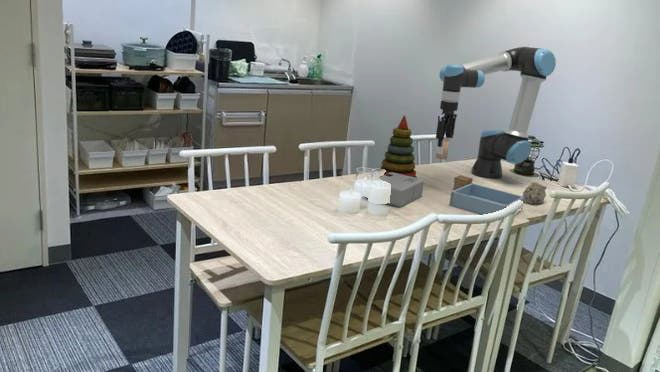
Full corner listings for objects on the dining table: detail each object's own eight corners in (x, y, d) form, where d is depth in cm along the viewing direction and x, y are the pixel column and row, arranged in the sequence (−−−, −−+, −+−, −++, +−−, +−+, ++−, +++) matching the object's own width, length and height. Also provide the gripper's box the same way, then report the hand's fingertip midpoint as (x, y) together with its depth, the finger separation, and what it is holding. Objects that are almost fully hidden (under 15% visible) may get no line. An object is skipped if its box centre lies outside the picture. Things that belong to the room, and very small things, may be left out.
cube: (458, 187, 252) (460, 175, 250) (470, 190, 249) (472, 178, 247) (452, 189, 248) (454, 177, 246) (465, 193, 244) (467, 180, 242)
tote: (469, 195, 241) (471, 183, 239) (521, 210, 227) (524, 196, 225) (449, 204, 226) (451, 191, 224) (504, 220, 212) (506, 206, 210)
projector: (423, 196, 235) (425, 179, 232) (400, 209, 217) (402, 190, 215) (389, 188, 243) (391, 171, 241) (364, 199, 225) (366, 181, 223)
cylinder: (439, 155, 247) (441, 138, 245) (449, 158, 244) (451, 140, 242) (433, 157, 243) (436, 140, 241) (444, 159, 240) (446, 142, 238)
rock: (531, 203, 232) (538, 181, 232) (518, 201, 237) (525, 179, 237) (548, 209, 239) (554, 187, 239) (535, 206, 244) (541, 185, 244)
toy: (374, 170, 268) (380, 110, 259) (413, 173, 269) (421, 113, 261) (378, 182, 249) (385, 117, 241) (421, 185, 251) (430, 121, 242)
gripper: (451, 98, 245) (444, 148, 252) (432, 100, 231) (425, 153, 238) (466, 100, 241) (459, 151, 248) (448, 103, 227) (440, 157, 234)
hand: (442, 152), depth 243 cm, fingers closed on cylinder, 5 cm apart
